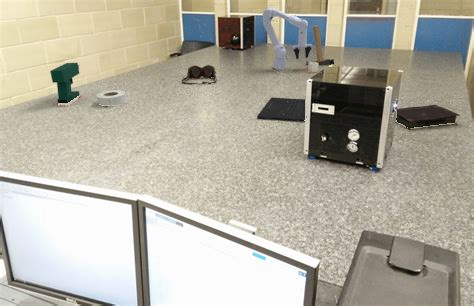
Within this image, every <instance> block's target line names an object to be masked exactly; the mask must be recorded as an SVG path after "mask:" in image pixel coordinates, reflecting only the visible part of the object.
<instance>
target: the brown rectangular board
mask: <svg viewBox="0 0 474 306" xmlns="http://www.w3.org/2000/svg"><path fill="white" fill-rule="evenodd" d="M296 70H297V71H300V72H303V73H306V74H309V75H311V74H317V72H313V73H311V72H309V71H308V66H307V67H300V68H296ZM319 71H321V70H319V69H318V72H319ZM319 73H320V72H319Z"/></svg>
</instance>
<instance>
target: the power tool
mask: <svg viewBox="0 0 474 306" xmlns="http://www.w3.org/2000/svg"><path fill="white" fill-rule="evenodd" d="M78 63H79V62H65V63H64V64H61V65H59V66H58V67H55V68H54V69H51V70H50V71H49V73H50V77H51V82H52V83H56V87H57V95H58V96H57V97H58V99H57V104H58V103H68V102H70V101H71V100H73V99H74V98H76V97H77V96H79V95H81V94H80V91H78V90H76V91H75V90H72V85H73V84H74V80H73V78H74V77H76V76H77V75H79V74H80V64H78Z"/></svg>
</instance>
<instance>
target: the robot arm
mask: <svg viewBox="0 0 474 306" xmlns="http://www.w3.org/2000/svg"><path fill="white" fill-rule="evenodd" d="M276 17H279V18H281V19H284V20H285V21H288V23H289V24H290V25H292V26H294V27H297V28H298V39H297V40H298V41H297V42H298V43H297V44H295V45H292V49H293V53H294V55H295V59H296V60H299V57H300V55H299V54H300V49H304V51H305V55H304V56H305V57H304V58H307V59H308V57H309V54H310V53H311V51H312V48H313V44H312V43H307V42H308V27H309V22H308V21H307V20H306V19H303V17H302V18H299V17H297V15H295V14H294V15H289V14H287V13H285V12H283V11H281V10H279V9H277V8H274V7H269V8H266V9H264V11H263V12H262V25H263V27H264V29H265V32H266V33H267V35H268V38H269V40H270V42H271V43H272V46H273V51H274V56H275V57H274V58H273V65H272V66H273V68H272V70H273V71H275V72H280V71H281V70H286V64H287V63H286V62H287V61H286V59H287V58H286V55H287V49H286V47H284V45H283V44H282V43H281V42H280V39H279V37H278V36H277V33H276V31H275V30H274V27H273V25H272V21H273V18H276Z"/></svg>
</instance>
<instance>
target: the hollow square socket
mask: <svg viewBox="0 0 474 306" xmlns="http://www.w3.org/2000/svg"><path fill="white" fill-rule="evenodd" d="M309 62H310V63H308V64H307V67H308V71H309V72H311V74H314V73H313V72H318V70H319V66H320V65H319V63H316V62H315V61H309Z"/></svg>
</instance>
